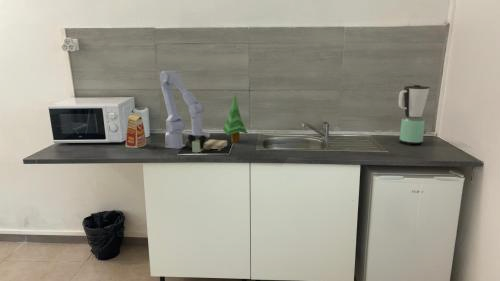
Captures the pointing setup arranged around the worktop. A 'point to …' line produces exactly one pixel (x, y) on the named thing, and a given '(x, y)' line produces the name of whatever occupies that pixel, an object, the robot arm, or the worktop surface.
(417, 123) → the mint green blender
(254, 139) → the worktop surface
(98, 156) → the worktop surface
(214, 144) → the beige irregular slab
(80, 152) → the worktop surface
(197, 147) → the green block
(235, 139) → the decorative tree
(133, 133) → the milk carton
